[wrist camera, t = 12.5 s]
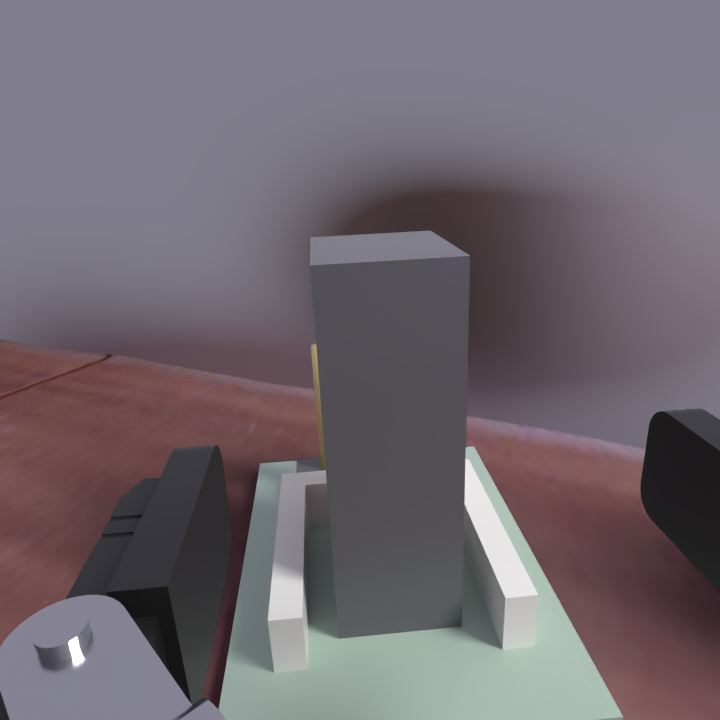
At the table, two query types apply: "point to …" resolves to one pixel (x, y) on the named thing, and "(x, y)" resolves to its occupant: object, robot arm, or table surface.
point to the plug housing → (393, 425)
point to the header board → (407, 649)
